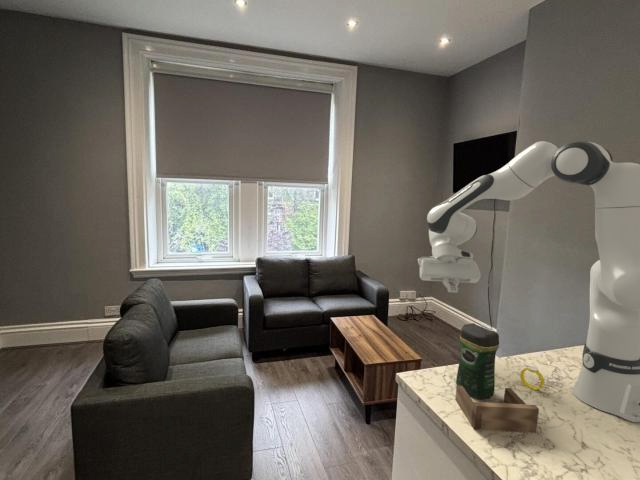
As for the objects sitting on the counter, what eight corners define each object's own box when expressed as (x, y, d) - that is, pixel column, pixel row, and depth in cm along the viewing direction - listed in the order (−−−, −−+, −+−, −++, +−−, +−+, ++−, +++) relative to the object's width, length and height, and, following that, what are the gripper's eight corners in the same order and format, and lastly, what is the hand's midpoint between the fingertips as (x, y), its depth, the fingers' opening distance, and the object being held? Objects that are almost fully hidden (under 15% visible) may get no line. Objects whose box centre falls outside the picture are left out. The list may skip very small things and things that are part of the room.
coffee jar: (499, 396, 93) (506, 331, 90) (479, 403, 89) (485, 336, 87) (470, 378, 102) (475, 319, 99) (450, 384, 98) (456, 323, 96)
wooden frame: (509, 402, 90) (511, 381, 90) (536, 432, 79) (539, 408, 78) (455, 399, 91) (457, 378, 90) (473, 429, 79) (476, 405, 78)
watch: (518, 384, 100) (519, 365, 99) (523, 382, 101) (524, 362, 101) (539, 393, 95) (540, 373, 94) (545, 391, 96) (546, 370, 96)
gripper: (419, 251, 120) (424, 285, 112) (477, 253, 119) (487, 288, 111) (414, 261, 125) (419, 294, 117) (470, 263, 124) (479, 297, 116)
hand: (453, 291), depth 114 cm, fingers closed
